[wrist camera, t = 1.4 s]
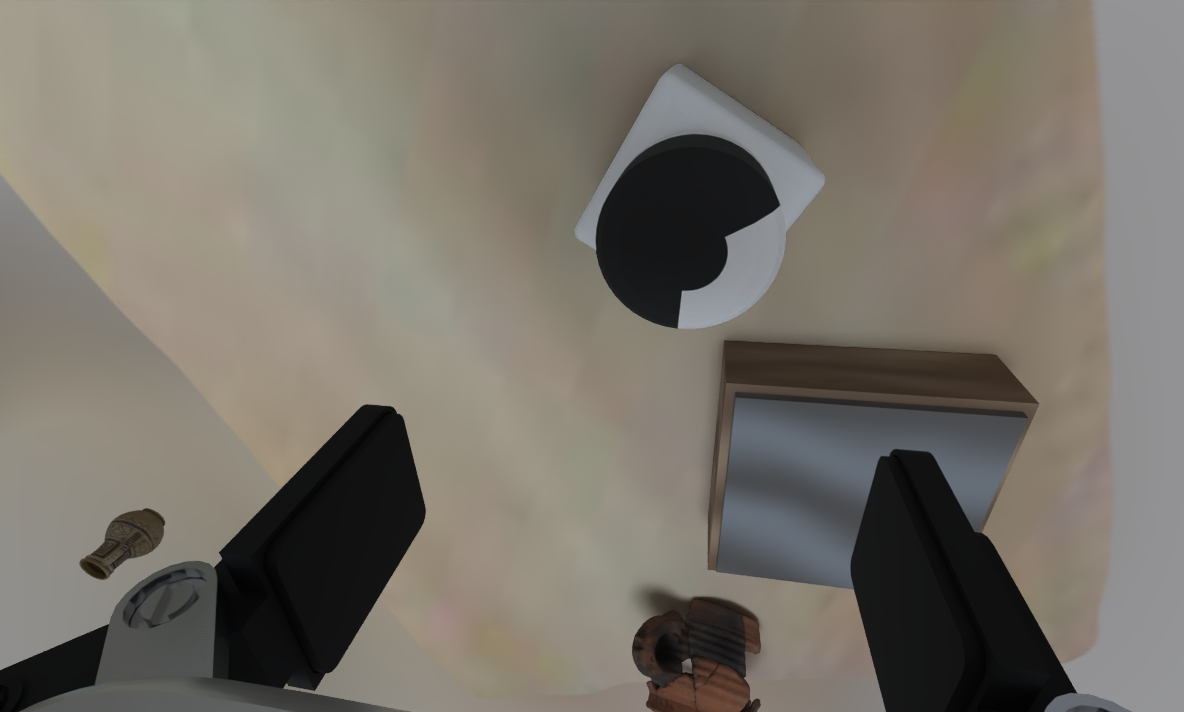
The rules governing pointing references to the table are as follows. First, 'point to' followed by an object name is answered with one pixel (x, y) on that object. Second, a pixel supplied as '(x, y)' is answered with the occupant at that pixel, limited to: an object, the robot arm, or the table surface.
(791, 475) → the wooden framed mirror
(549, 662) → the table surface
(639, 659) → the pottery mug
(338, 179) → the table surface
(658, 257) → the medicine bottle
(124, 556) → the brown patterned vase
